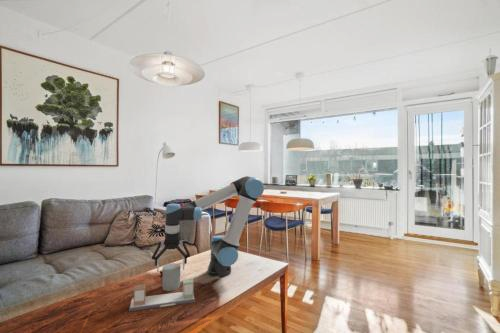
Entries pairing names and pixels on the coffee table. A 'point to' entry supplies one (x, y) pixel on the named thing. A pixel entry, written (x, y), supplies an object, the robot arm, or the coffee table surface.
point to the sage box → (188, 288)
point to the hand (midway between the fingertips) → (170, 270)
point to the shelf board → (161, 301)
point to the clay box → (139, 294)
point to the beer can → (171, 277)
